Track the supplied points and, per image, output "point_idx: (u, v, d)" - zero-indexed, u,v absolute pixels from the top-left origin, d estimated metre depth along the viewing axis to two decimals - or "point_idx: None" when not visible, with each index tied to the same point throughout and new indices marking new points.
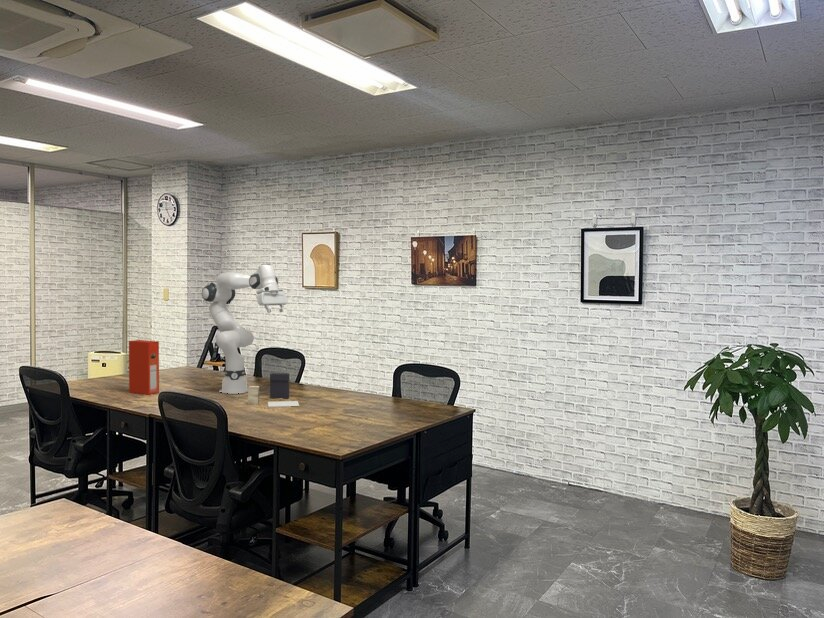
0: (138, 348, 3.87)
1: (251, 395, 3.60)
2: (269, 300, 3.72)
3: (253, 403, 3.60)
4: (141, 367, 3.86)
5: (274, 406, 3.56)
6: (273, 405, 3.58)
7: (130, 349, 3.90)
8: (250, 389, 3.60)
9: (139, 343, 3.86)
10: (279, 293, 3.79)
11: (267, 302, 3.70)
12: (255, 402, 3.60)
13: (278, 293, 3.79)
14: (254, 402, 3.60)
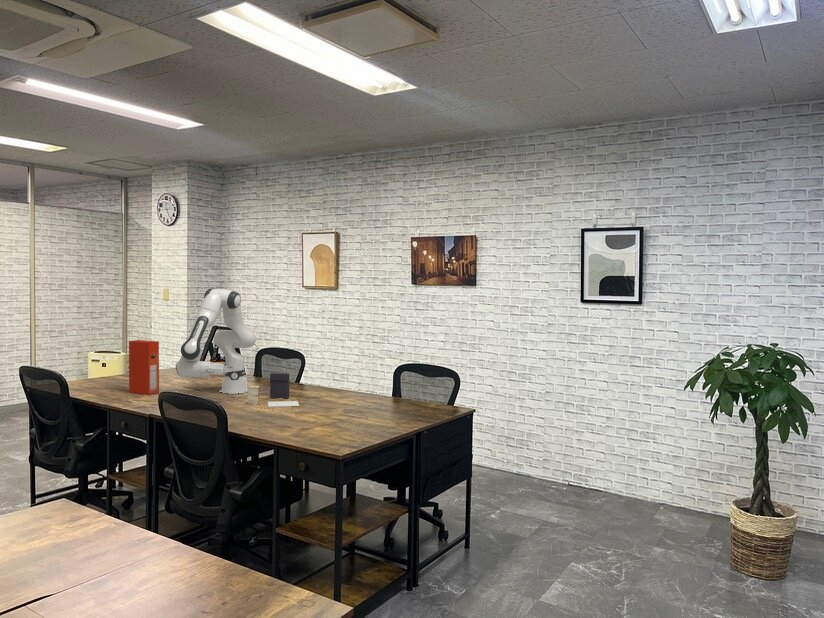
0: (138, 348, 3.87)
1: (251, 395, 3.60)
2: None
3: (253, 403, 3.60)
4: (141, 367, 3.86)
5: (274, 406, 3.56)
6: (273, 405, 3.58)
7: (130, 349, 3.90)
8: (250, 389, 3.60)
9: (139, 343, 3.86)
10: None
11: None
12: (255, 402, 3.60)
13: None
14: (254, 402, 3.60)
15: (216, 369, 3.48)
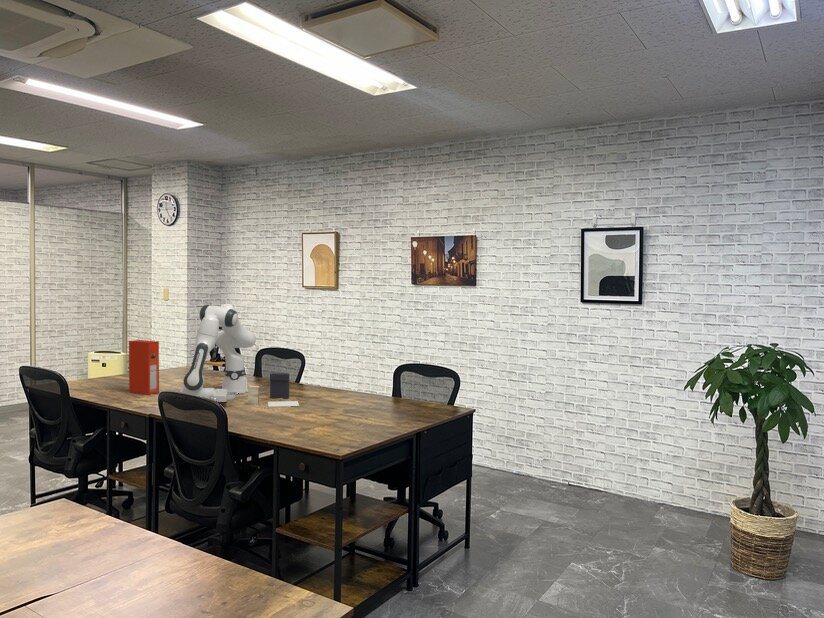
0: (138, 348, 3.87)
1: (251, 395, 3.60)
2: None
3: (253, 403, 3.60)
4: (141, 367, 3.86)
5: (274, 406, 3.56)
6: (273, 405, 3.58)
7: (130, 349, 3.90)
8: (250, 389, 3.60)
9: (139, 343, 3.86)
10: None
11: None
12: (255, 402, 3.60)
13: None
14: (254, 402, 3.60)
15: (219, 396, 3.49)
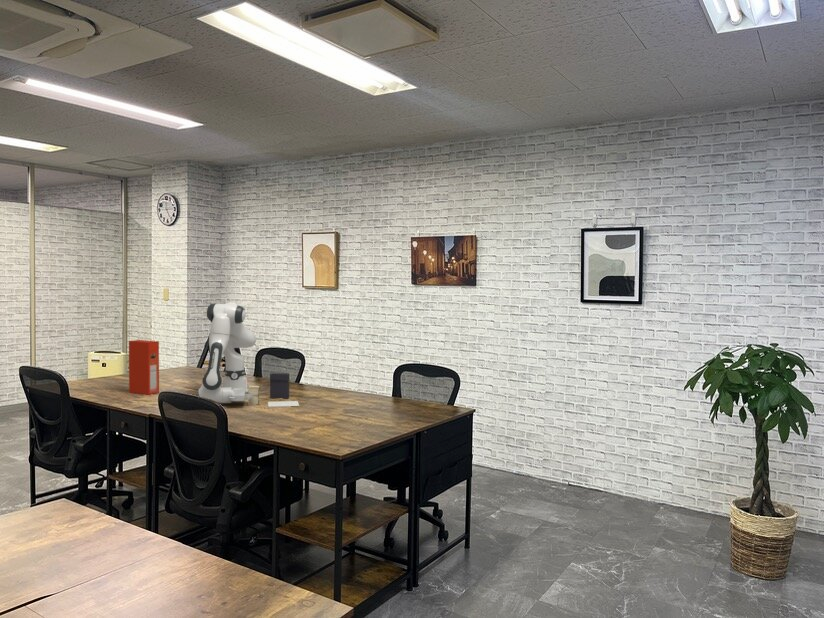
0: (138, 348, 3.87)
1: None
2: None
3: (253, 403, 3.60)
4: (141, 367, 3.86)
5: (274, 406, 3.56)
6: (273, 405, 3.58)
7: (130, 349, 3.90)
8: (250, 389, 3.60)
9: (139, 343, 3.86)
10: None
11: None
12: (255, 402, 3.60)
13: None
14: (254, 402, 3.60)
15: (238, 396, 3.51)
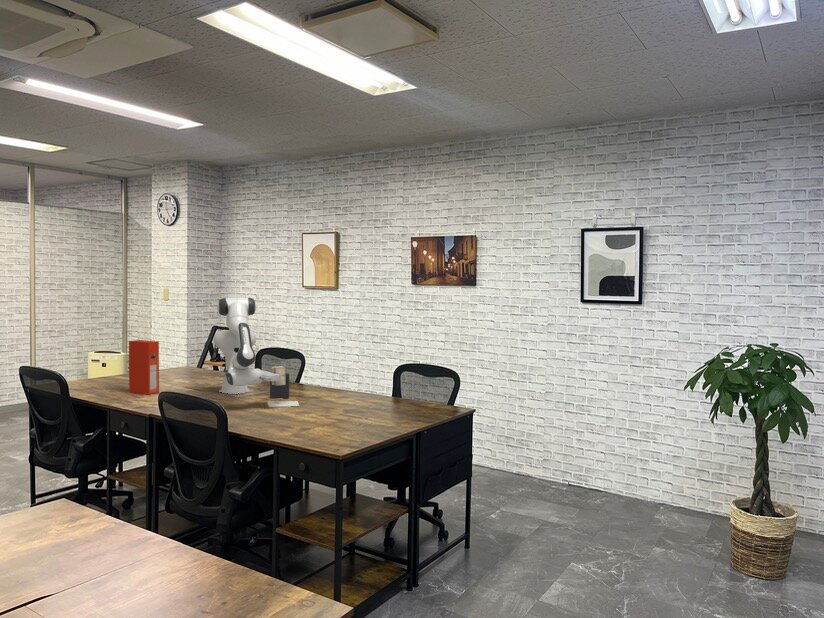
0: (138, 348, 3.87)
1: None
2: None
3: (280, 383, 3.60)
4: (141, 367, 3.86)
5: (274, 406, 3.56)
6: (273, 405, 3.58)
7: (130, 349, 3.90)
8: (278, 369, 3.59)
9: (139, 343, 3.86)
10: (264, 380, 3.52)
11: None
12: (282, 382, 3.61)
13: None
14: (281, 382, 3.60)
15: (273, 376, 3.49)
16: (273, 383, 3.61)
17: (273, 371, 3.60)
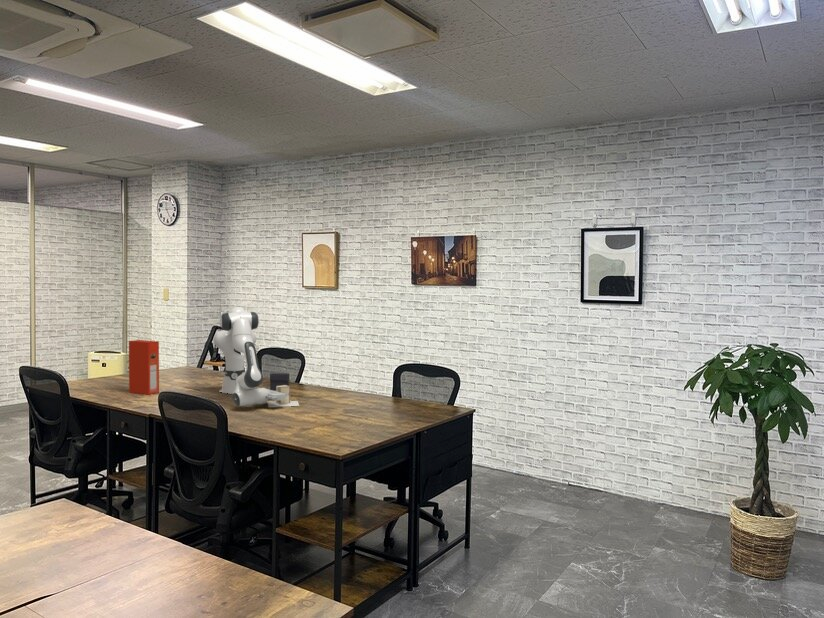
0: (138, 348, 3.87)
1: None
2: None
3: (285, 402, 3.62)
4: (141, 367, 3.86)
5: (274, 406, 3.56)
6: (273, 405, 3.58)
7: (130, 349, 3.90)
8: (282, 388, 3.60)
9: (139, 343, 3.86)
10: None
11: None
12: (287, 401, 3.62)
13: None
14: (286, 401, 3.62)
15: (280, 395, 3.51)
16: (277, 402, 3.62)
17: (277, 390, 3.62)
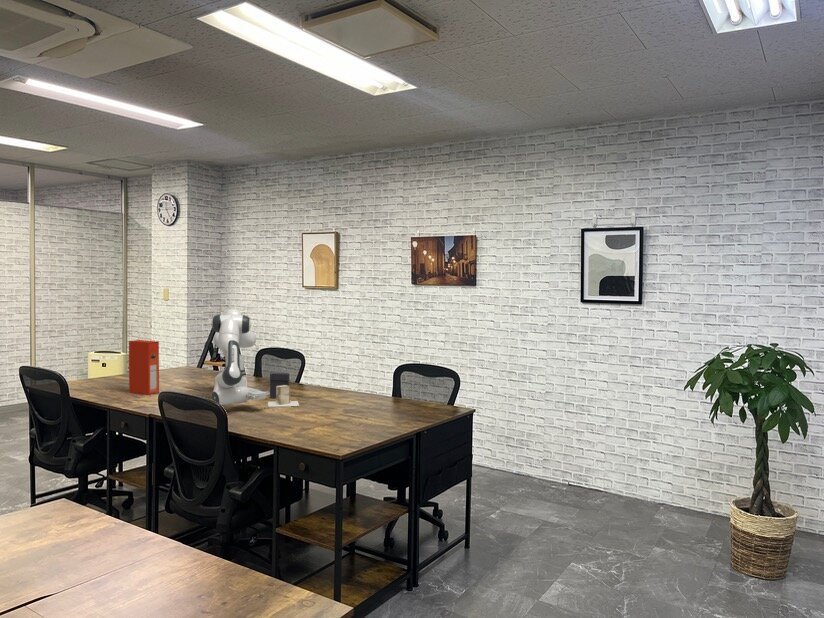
0: (138, 348, 3.87)
1: (283, 394, 3.61)
2: None
3: (285, 402, 3.62)
4: (141, 367, 3.86)
5: (274, 406, 3.56)
6: (273, 405, 3.58)
7: (130, 349, 3.90)
8: (282, 388, 3.60)
9: (139, 343, 3.86)
10: None
11: None
12: (287, 401, 3.62)
13: None
14: (286, 401, 3.62)
15: (260, 394, 3.43)
16: (277, 402, 3.62)
17: (277, 390, 3.62)
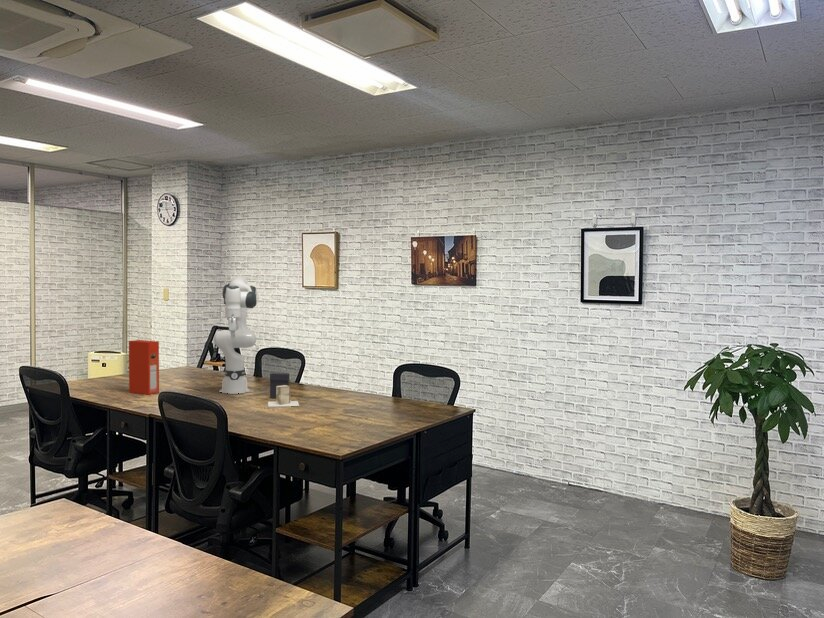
0: (138, 348, 3.87)
1: (283, 394, 3.61)
2: None
3: (285, 402, 3.62)
4: (141, 367, 3.86)
5: (274, 406, 3.56)
6: (273, 405, 3.58)
7: (130, 349, 3.90)
8: (282, 388, 3.60)
9: (139, 343, 3.86)
10: None
11: None
12: (287, 401, 3.62)
13: None
14: (286, 401, 3.62)
15: (234, 325, 3.57)
16: (277, 402, 3.62)
17: (277, 390, 3.62)
